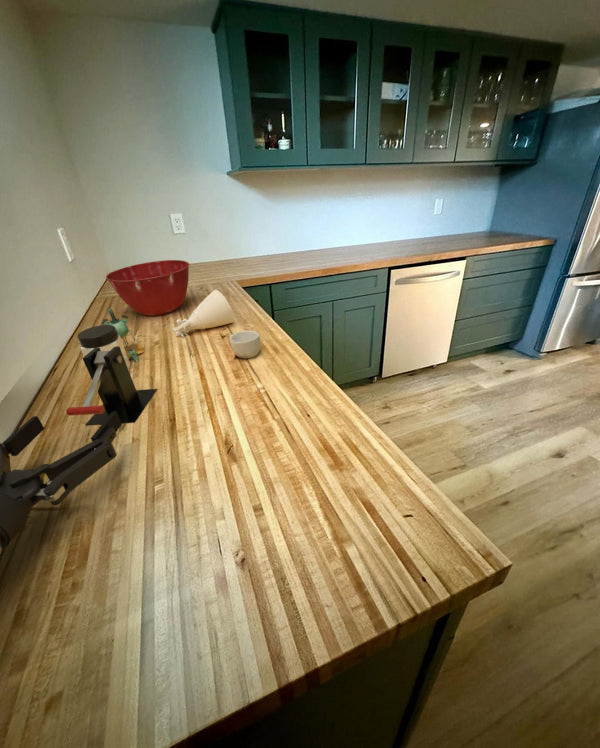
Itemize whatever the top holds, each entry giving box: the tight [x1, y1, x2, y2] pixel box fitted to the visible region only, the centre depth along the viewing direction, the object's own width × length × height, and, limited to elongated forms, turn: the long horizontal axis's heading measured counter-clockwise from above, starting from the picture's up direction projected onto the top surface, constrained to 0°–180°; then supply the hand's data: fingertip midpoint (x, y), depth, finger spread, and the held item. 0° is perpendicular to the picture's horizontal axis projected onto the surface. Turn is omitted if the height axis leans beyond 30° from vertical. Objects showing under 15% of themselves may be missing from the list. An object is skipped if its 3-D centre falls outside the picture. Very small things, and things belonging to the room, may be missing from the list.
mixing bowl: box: [105, 259, 190, 317], centre depth 125 cm, size 28×28×16 cm
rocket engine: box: [172, 289, 235, 338], centre depth 105 cm, size 12×12×18 cm
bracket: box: [82, 346, 158, 427], centre depth 68 cm, size 12×10×14 cm
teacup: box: [229, 329, 261, 359], centre depth 89 cm, size 10×8×5 cm
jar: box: [76, 324, 131, 370], centre depth 82 cm, size 9×8×12 cm
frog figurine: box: [102, 308, 145, 363], centre depth 92 cm, size 10×18×15 cm, turn 27°
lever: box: [65, 351, 109, 417], centre depth 62 cm, size 13×6×2 cm, turn 1°
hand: (77, 420), depth 57 cm, fingers open, 13 cm apart
